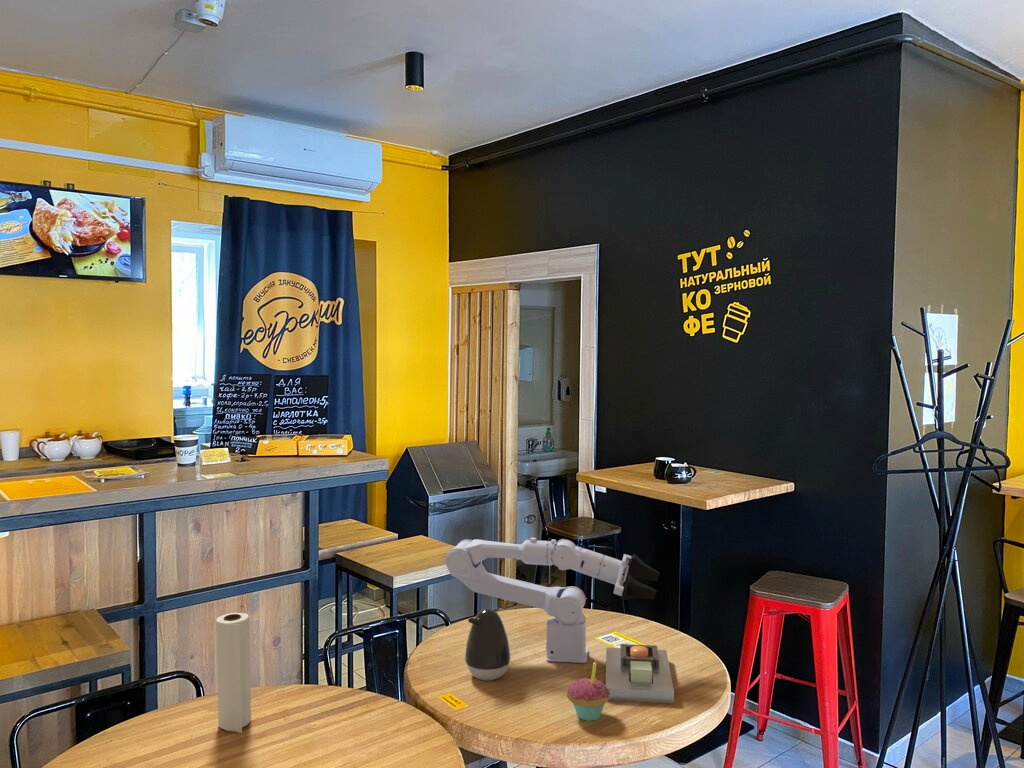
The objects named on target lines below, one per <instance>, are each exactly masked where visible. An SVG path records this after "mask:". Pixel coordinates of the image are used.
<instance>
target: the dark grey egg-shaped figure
mask: <svg viewBox="0 0 1024 768" xmlns="http://www.w3.org/2000/svg"><path fill="white" fill-rule="evenodd" d="M467 621H468V623H469V624H471V626H470V629H469V632H468V636H467V641H466V647H465V654H464V655H465V656H464V657H465V658H464V659H465V661H464V662H465V663H466V665H467V668H468V670H469V672H470V674H471V675H472V676H473V677H475V678H476V679H478V680H481V681H494V679H495V680H498V679H500V678H501V677H503V675H505V673H507V670H508V668H509V664H510V662H511V658H512V657H511V650H510V643H509V638H508V634H507V631H506V628H505V625H504V622H503V621H502V619H501V616H500V615H499V613H497V611H495V610H494V609H491V608H483V609H481V610H480V611H479V612H477V614H476V616H475V617H468V619H467Z"/></svg>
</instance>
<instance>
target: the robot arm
mask: <svg viewBox="0 0 1024 768" xmlns="http://www.w3.org/2000/svg"><path fill="white" fill-rule="evenodd" d="M499 558H500V559H519V560H520V561H522V562H523V563H524V564H525V565H536V566H537V565H538V566H552V565H553V566H555V567H557V568H558V570H560V571H567V570H573V571H575V572H577V573H579V574H580V573H581V574H583V575H586V576H588V577H592V578H594V579H597V580H600V581H603V582H607V583H609V584H612V585H614V588H613V594H614V595H617V596H620V597H621V599H622V600H624V601H625V600H630V599H647V600H654V599H655V598H656V595H657V591H658V590H656V589H655V588H653V587H651V586H649V585H646V584H644V583H642V582H640V581H639V580H637V579H635V578H639V579H644V580H648V581H653V582H658V581H659V577H660V574H661V572H660V571H657V570H656V569H655V568H653V567H651V566H649V565H648V564H647V563H645V562H644V561H643V560H642V559H641V558H640V557H639V556H638V555H637V554H632V555H629V554H626V553H623V556H622V559H618V558H615V557H612V556H608V555H605V554H603V553H599V552H596V551H594V550H591V549H587V548H584V547H580V546H577V545H576V544H575V543H574V542H573V541H572V540H570V539H566V538H561V539H559V540H558V541H557V540H556V539H551V540H537V537H530V539H525V540H524V542H522V543H521V544H518V543H511V542H502V541H493V540H492V541H491V540H485V539H473V540H472V539H463V540H461V541H459V542H458V543H457V544H456V545H455V546H454V547H453V548H451V549H450V550H448V552H447V553H446V556H445V565H446V569H448V572H449V574H450V576H451V577H454V578H456V579H458V580H459V581H460V582H461V583H462V584H463V585H464V586H466V588H468V589H469V590H470V591H471V592H473V593H477V594H480V595H484V596H489V597H492V598H497V599H502V600H504V601H509V602H511V603H512V602H513V603H517V604H519V605H525V606H529V607H532V608H537V609H541V610H543V611H544V612H545V613H546V614H547V615H548V616H550V617H552V618H548V619H547V620H546V642H545V650H546V661H547V662H556V663H557V662H558V663H578V664H579V663H580V664H581V663H582V664H586V663H588V655H589V654H588V653H589V648H587V647H586V645H587V644H586V640H587V634H586V633H587V631H586V630H587V629H586V628H587V627H586V624H587V622H586V616H585V614H584V613H583V608H584V607H585V605H586V595H585V593H584V591H583V590H582V589H581V588H579V587H577V586H573V585H572V586H566V587H561V586H550V587H548V586H543V585H540V584H537V583H536V584H535V583H532V582H527V581H524V580H523V581H522V580H520V579H515V578H510V577H506V576H502V575H499V574H495V573H491V572H490V573H489V572H488V571H487V570H486V568H485V566H484V564H483V561H485V560H486V559H499ZM627 578H628V579H627ZM626 579H627V580H626Z"/></svg>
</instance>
